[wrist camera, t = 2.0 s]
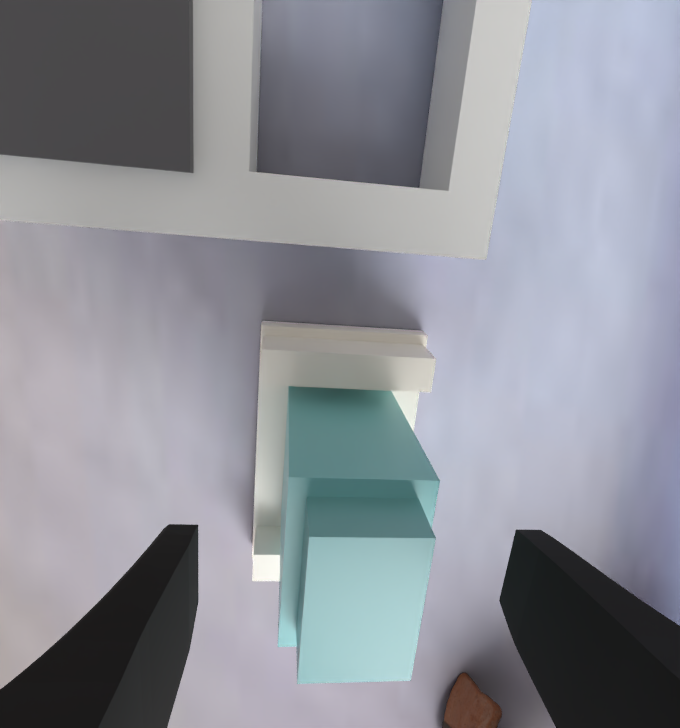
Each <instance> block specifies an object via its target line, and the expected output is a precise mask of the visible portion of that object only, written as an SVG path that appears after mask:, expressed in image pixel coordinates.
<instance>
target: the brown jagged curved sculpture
mask: <svg viewBox="0 0 680 728" xmlns="http://www.w3.org/2000/svg"><path fill="white" fill-rule="evenodd" d="M501 716H502V711H501V708H500V706H499V705H498V704H497V703H495V702H494V701H493V700H492V699H491V698H490V697H489V696H487V695H486V694H484V693H482V692H481V691H480V690H479V688H478V686H477V685H476V684H475V682H474V681H473V680H472V679H471V678H470V677H469V675H468V674H467V673H462V674H460V675H459V677H458V678H457V681H456V683H455V684H454V686H453V688H452V690H451V693H450V697H449V699H448V701H447V705H446V711H445V715H444V721H443V725H442V728H497V726H498V723H499V720H500V718H501Z"/></svg>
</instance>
